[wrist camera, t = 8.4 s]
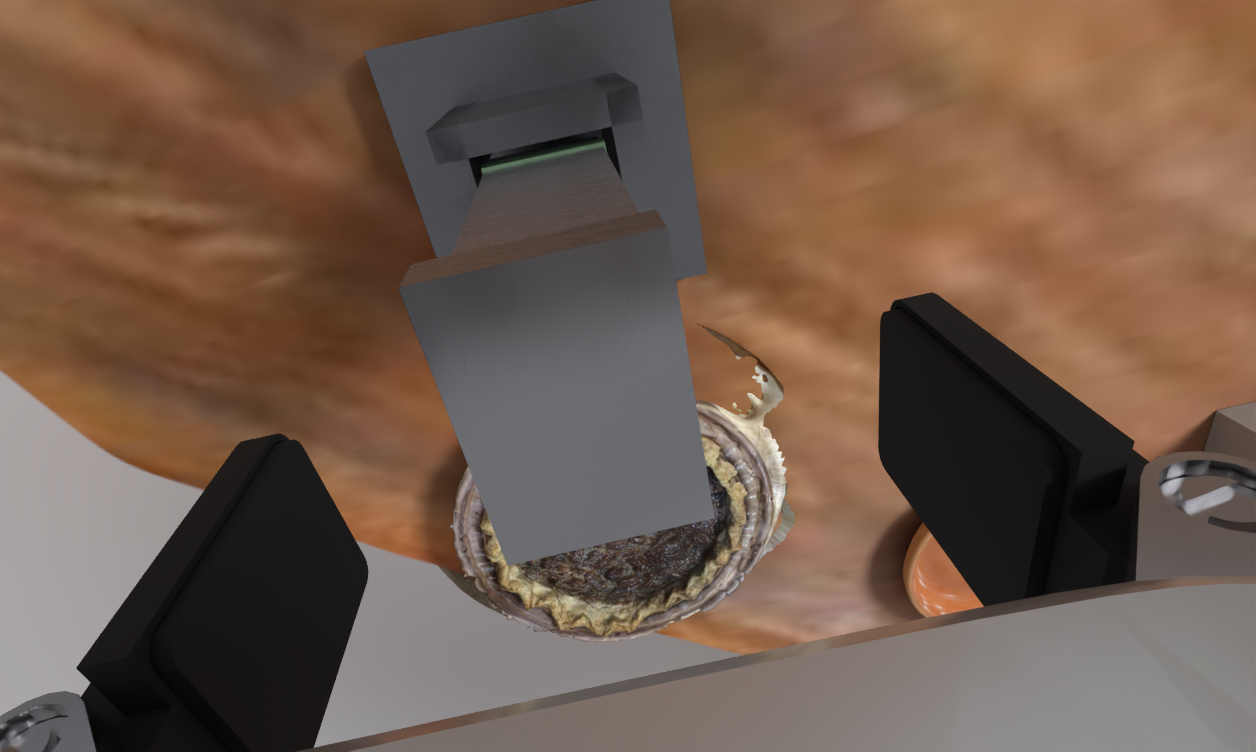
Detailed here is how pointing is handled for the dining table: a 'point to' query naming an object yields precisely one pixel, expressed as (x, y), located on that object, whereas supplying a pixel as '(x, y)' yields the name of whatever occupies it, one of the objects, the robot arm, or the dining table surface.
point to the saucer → (934, 578)
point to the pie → (644, 542)
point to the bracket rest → (1234, 432)
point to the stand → (545, 109)
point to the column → (564, 356)
